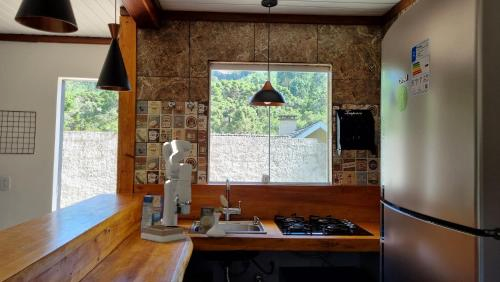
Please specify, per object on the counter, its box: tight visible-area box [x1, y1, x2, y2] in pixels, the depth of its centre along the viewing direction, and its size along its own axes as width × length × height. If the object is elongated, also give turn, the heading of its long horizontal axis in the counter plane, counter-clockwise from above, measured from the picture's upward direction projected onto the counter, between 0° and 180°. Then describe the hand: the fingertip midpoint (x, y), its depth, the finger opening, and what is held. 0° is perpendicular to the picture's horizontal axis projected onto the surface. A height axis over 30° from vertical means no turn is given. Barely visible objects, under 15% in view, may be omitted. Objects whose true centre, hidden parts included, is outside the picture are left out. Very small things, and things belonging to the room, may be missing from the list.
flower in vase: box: [205, 194, 229, 238], centre depth 210 cm, size 13×11×25 cm
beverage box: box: [140, 194, 164, 235], centre depth 210 cm, size 7×11×22 cm, turn 164°
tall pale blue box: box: [174, 203, 191, 216], centre depth 213 cm, size 8×5×6 cm, turn 57°
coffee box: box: [198, 206, 217, 234], centre depth 222 cm, size 9×6×16 cm
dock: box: [140, 225, 186, 243], centre depth 194 cm, size 16×18×6 cm
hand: (181, 212), depth 213 cm, fingers closed on tall pale blue box, 5 cm apart
